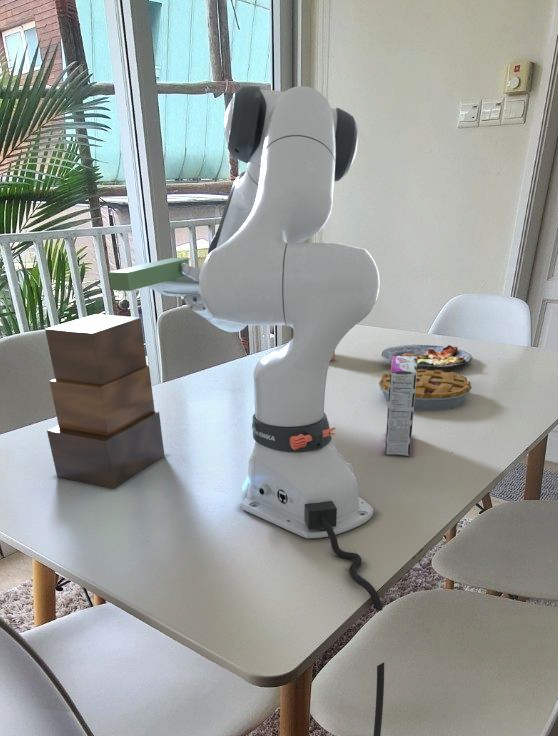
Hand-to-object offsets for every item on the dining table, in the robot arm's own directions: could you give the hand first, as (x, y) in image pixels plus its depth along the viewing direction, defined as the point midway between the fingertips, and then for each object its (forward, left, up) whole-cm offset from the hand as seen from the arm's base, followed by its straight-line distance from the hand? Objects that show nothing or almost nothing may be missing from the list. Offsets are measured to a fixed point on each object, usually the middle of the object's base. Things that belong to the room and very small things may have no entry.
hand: (170, 266), depth 122 cm
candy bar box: (-39, -27, -32) cm, 57 cm away
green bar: (-3, +5, -2) cm, 7 cm away
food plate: (+1, -77, -32) cm, 84 cm away
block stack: (-13, +22, -32) cm, 41 cm away
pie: (-21, -53, -32) cm, 66 cm away
